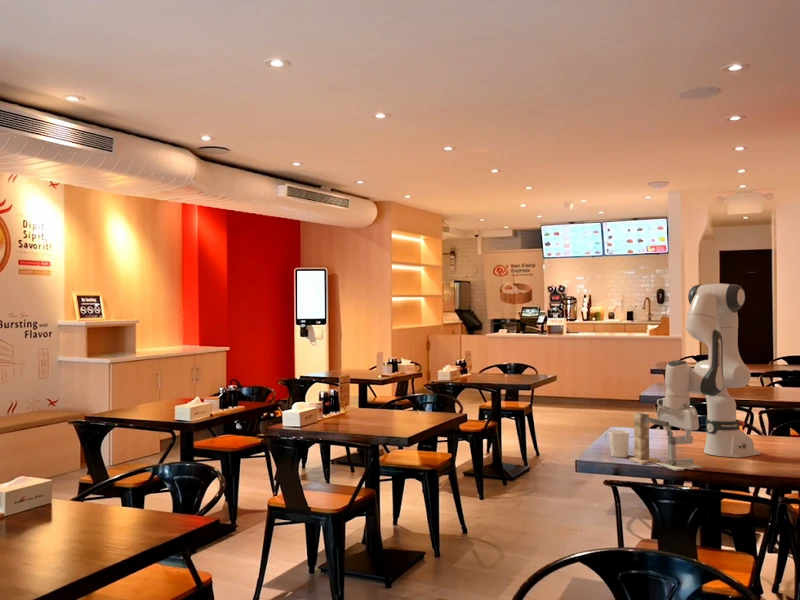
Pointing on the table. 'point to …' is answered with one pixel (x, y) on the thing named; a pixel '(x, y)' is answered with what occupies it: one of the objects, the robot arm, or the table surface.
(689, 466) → the mat
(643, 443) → the stand
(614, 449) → the white cup
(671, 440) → the c link
